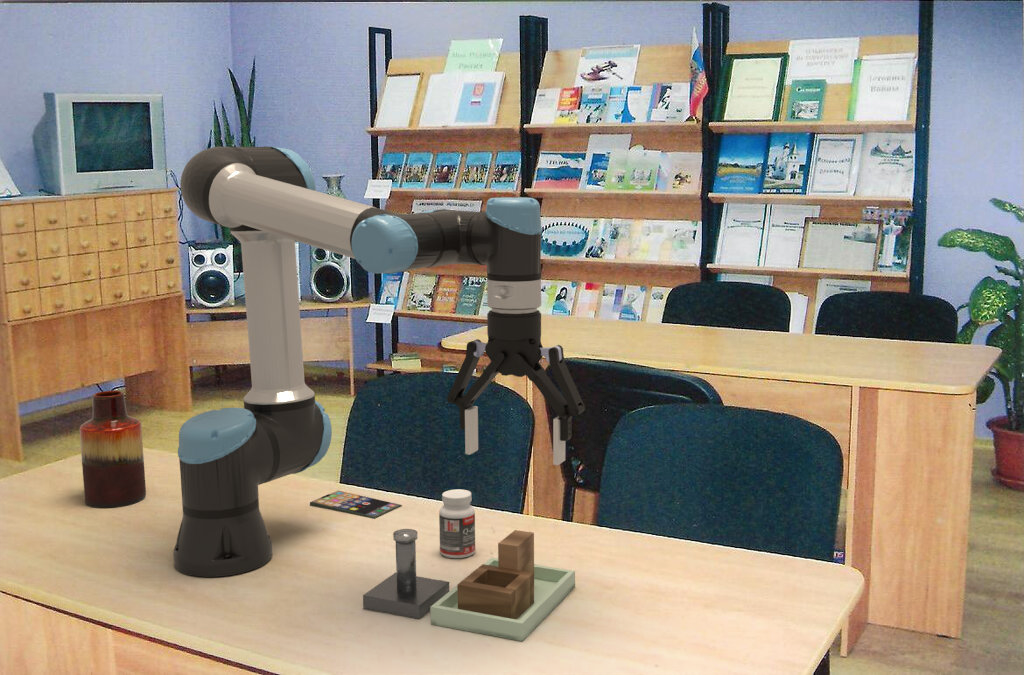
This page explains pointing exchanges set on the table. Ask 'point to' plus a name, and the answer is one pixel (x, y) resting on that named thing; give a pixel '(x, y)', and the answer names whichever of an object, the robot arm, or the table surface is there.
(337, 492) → the smartphone
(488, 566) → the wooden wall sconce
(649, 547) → the table surface
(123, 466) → the vase
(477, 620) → the tray
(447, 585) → the grey peg stand
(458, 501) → the pill bottle
